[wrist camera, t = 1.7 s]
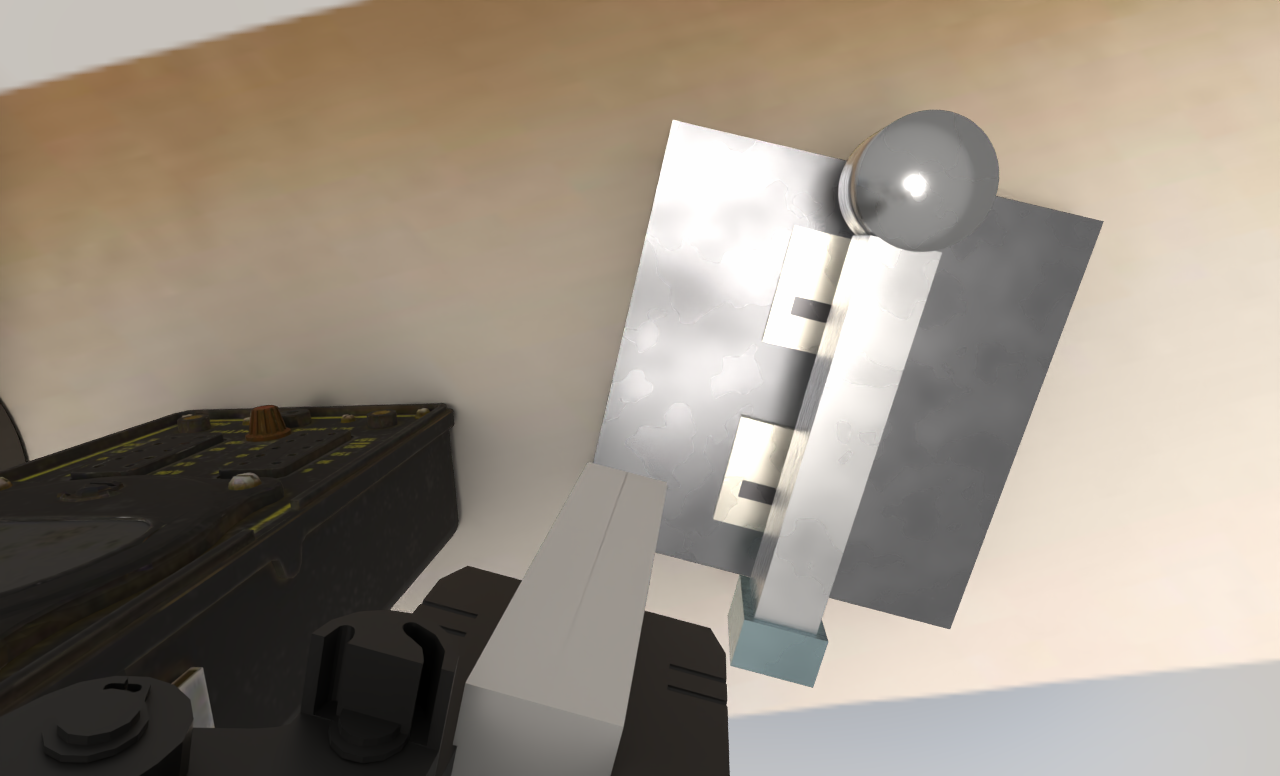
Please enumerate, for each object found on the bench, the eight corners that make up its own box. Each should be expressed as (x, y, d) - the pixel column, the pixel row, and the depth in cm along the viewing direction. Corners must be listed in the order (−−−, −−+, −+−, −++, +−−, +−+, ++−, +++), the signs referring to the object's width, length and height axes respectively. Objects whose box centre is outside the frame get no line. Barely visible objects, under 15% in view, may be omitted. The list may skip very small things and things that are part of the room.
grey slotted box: (587, 508, 37) (564, 559, 31) (678, 119, 32) (672, 92, 26) (930, 597, 36) (973, 667, 30) (1070, 211, 31) (1154, 205, 26)
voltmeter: (461, 383, 36) (-63, 695, 11) (477, 542, 38) (53, 1106, 13) (174, 392, 37) (-822, 681, 13) (203, 544, 39) (-628, 1051, 15)
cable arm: (714, 612, 30) (715, 661, 27) (857, 114, 26) (882, 94, 22) (814, 638, 30) (828, 691, 27) (977, 142, 26) (1020, 127, 22)
